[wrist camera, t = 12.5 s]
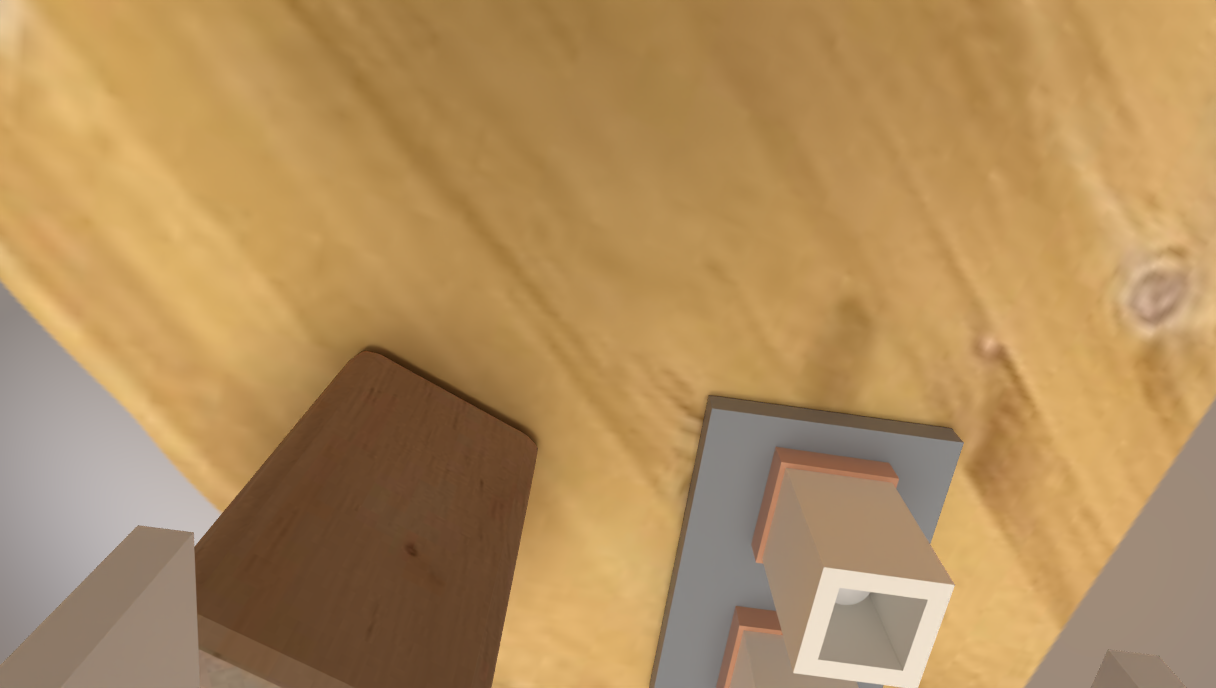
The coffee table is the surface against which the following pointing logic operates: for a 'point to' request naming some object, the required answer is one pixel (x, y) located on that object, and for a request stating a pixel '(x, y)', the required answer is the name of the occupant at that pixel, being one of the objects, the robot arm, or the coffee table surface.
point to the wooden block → (368, 544)
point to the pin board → (729, 507)
